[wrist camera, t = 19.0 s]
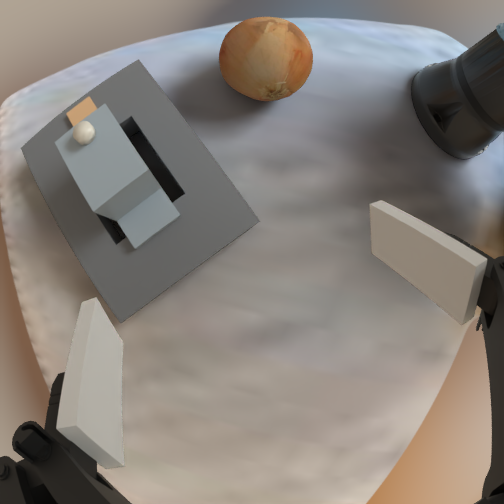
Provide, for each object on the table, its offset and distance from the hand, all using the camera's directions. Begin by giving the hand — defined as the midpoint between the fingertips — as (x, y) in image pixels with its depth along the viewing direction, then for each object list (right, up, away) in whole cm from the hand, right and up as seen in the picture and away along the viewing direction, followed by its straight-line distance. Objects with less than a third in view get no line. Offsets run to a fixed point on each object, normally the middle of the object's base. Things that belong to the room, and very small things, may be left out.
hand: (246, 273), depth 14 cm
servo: (-12, +8, +17) cm, 23 cm away
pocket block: (-12, +8, +17) cm, 23 cm away
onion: (+1, +21, +20) cm, 29 cm away
